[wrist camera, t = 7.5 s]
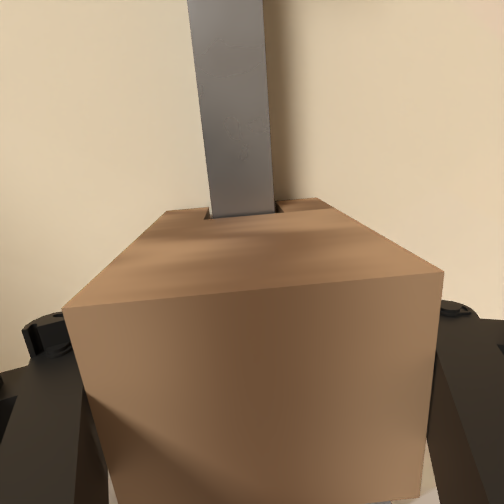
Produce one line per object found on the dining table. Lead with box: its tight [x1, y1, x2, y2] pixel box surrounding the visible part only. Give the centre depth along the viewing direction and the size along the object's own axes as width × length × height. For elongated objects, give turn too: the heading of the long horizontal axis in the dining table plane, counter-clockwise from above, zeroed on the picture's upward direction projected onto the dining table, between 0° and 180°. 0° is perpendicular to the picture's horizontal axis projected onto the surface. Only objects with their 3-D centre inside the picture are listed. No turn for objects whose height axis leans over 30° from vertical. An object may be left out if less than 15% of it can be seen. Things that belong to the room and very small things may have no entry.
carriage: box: [61, 198, 444, 504], centre depth 12 cm, size 7×6×10 cm
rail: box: [187, 0, 275, 219], centre depth 12 cm, size 5×29×6 cm, turn 5°
